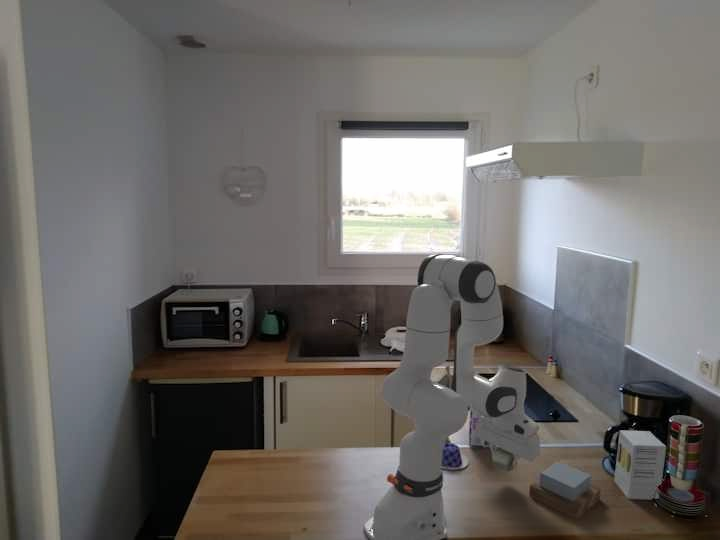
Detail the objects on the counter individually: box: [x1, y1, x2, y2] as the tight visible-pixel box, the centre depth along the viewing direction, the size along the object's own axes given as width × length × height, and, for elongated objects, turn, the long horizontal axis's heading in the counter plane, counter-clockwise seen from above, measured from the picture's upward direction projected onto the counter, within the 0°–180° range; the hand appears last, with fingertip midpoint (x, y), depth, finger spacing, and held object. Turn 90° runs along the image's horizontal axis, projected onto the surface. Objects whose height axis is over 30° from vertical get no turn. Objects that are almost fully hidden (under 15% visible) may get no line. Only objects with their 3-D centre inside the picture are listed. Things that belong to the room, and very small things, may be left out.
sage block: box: [491, 447, 517, 474], centre depth 155 cm, size 5×5×5 cm
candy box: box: [468, 407, 487, 448], centre depth 183 cm, size 14×6×16 cm, turn 168°
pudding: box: [442, 442, 469, 471], centre depth 168 cm, size 12×12×5 cm
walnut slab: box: [529, 478, 602, 520], centre depth 149 cm, size 14×14×4 cm
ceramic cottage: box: [435, 364, 453, 389], centre depth 217 cm, size 16×16×15 cm
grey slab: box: [539, 461, 592, 501], centre depth 148 cm, size 10×10×4 cm
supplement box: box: [613, 429, 667, 501], centre depth 152 cm, size 10×9×17 cm
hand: (504, 461), depth 155 cm, fingers closed on sage block, 5 cm apart
